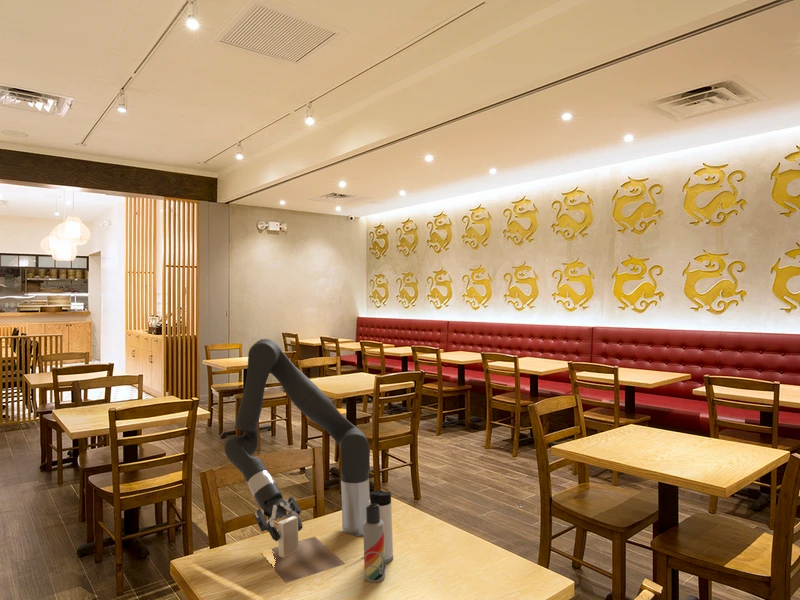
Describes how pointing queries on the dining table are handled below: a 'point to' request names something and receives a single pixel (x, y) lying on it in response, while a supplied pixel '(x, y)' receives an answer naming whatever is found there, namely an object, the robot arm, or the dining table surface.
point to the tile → (288, 536)
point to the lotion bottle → (374, 544)
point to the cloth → (305, 560)
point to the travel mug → (385, 519)
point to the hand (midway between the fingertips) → (289, 534)
